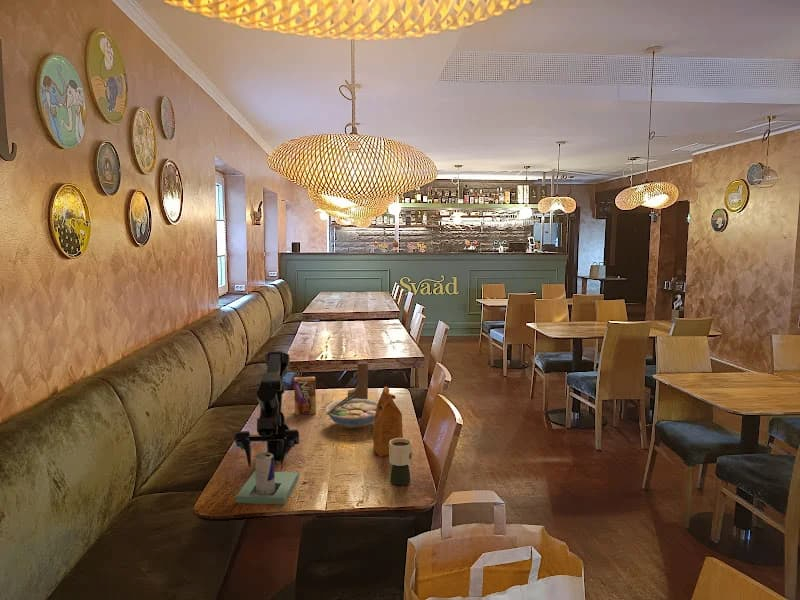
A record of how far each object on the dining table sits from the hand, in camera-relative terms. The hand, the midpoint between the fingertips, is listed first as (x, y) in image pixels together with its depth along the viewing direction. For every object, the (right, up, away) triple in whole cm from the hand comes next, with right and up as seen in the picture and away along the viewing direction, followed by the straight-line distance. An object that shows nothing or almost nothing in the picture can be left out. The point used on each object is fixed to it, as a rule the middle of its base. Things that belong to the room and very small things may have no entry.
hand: (265, 465), depth 158 cm
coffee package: (+35, -5, +32) cm, 48 cm away
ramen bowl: (+22, -1, +56) cm, 60 cm away
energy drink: (0, -9, 0) cm, 9 cm away
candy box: (-1, +1, +70) cm, 70 cm away
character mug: (+40, -8, +8) cm, 41 cm away
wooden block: (+20, +3, +86) cm, 88 cm away
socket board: (0, -8, +3) cm, 9 cm away
